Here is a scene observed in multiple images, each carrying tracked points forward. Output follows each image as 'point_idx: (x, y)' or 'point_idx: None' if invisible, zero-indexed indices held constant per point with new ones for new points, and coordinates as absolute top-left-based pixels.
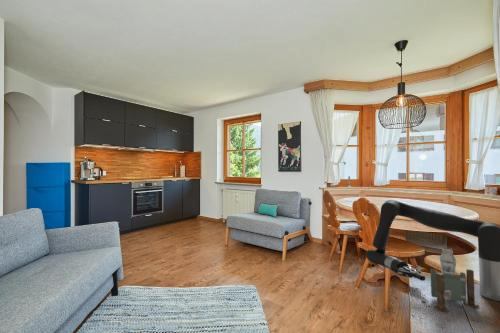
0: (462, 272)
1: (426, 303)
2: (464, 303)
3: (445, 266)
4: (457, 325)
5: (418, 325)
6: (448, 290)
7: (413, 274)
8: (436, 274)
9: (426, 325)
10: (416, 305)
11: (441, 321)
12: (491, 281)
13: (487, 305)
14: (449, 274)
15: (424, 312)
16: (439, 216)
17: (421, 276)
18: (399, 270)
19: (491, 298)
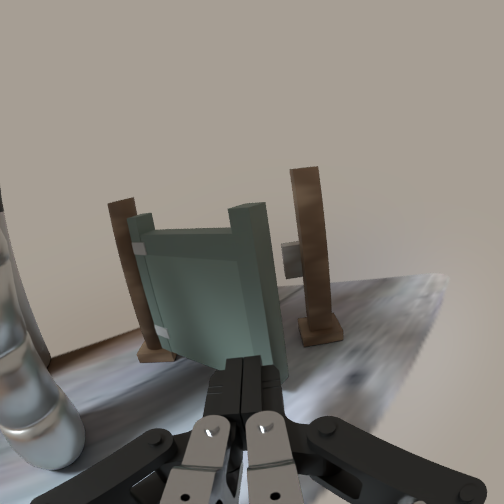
0: (130, 218)
1: (350, 366)
2: (174, 355)
3: (13, 297)
4: (334, 287)
5: (441, 277)
6: (284, 245)
7: (297, 426)
8: (318, 172)
9: (421, 279)
10: (410, 348)
11: (369, 293)
12: (23, 296)
13: (109, 347)
14: (176, 232)
15: (399, 317)
16: None
17: (260, 363)
18: (470, 477)
19: (48, 358)
